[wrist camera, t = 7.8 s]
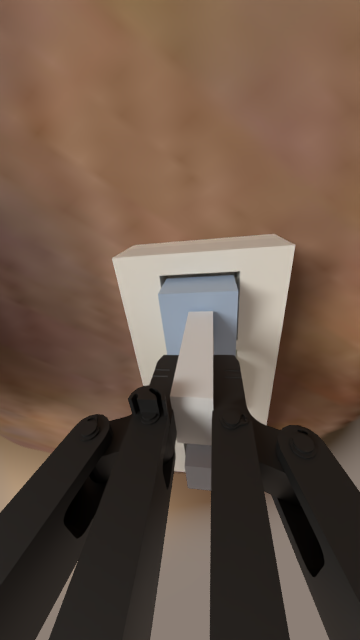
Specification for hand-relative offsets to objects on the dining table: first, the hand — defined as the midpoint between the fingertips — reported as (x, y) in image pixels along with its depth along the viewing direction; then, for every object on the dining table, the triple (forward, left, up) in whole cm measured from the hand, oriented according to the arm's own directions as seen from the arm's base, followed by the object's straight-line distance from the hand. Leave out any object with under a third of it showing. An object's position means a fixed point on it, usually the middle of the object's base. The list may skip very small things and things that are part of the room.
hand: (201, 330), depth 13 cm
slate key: (0, 0, -3) cm, 3 cm away
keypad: (0, -10, -8) cm, 13 cm away
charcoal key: (0, -19, -3) cm, 20 cm away
